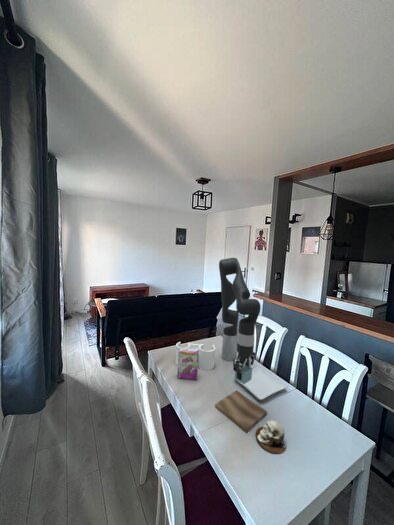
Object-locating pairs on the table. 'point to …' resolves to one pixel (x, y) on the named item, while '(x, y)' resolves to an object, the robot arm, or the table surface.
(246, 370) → the slate cube
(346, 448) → the table surface
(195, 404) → the table surface
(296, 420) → the table surface
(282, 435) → the skull
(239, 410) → the walnut board
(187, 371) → the candy bar box
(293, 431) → the table surface
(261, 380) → the salad plate
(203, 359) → the bracket
